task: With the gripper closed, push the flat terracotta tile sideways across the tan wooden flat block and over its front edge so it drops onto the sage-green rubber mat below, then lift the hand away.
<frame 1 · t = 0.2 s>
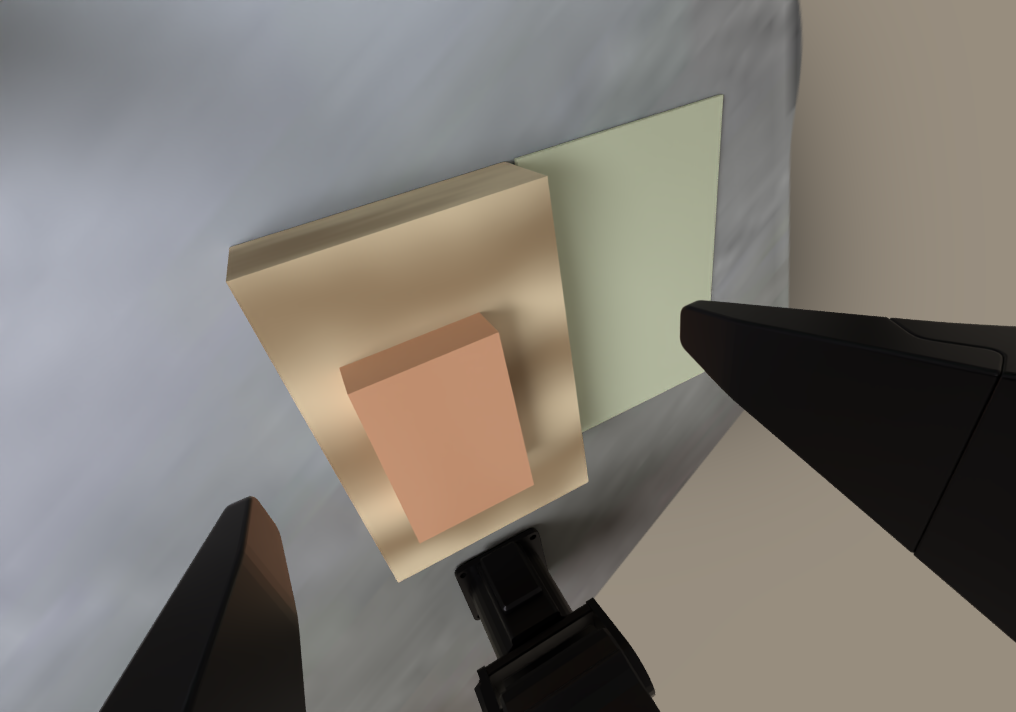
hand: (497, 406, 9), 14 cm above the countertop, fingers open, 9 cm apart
mat: (630, 288, 29), on the countertop
tan wooden flat block: (434, 370, 25), on the countertop
tile: (441, 420, 22), point 4 cm above the countertop, touching tan wooden flat block
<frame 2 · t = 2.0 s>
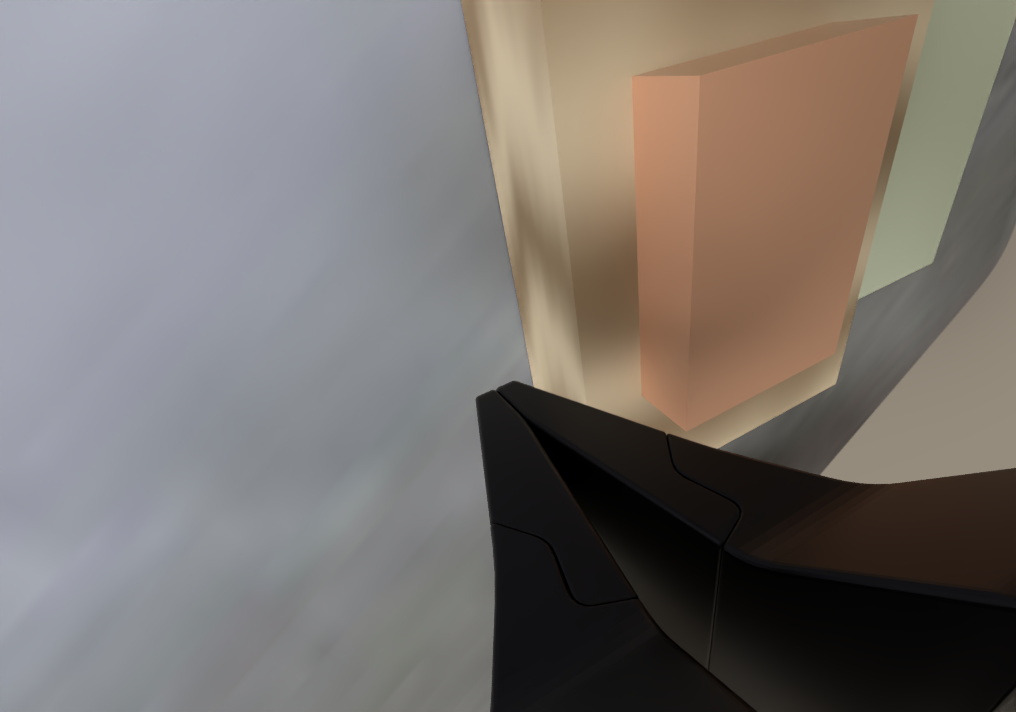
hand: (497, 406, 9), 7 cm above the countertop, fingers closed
mat: (897, 110, 20), on the countertop
tan wooden flat block: (658, 195, 17), on the countertop
tile: (724, 232, 14), point 4 cm above the countertop, touching tan wooden flat block
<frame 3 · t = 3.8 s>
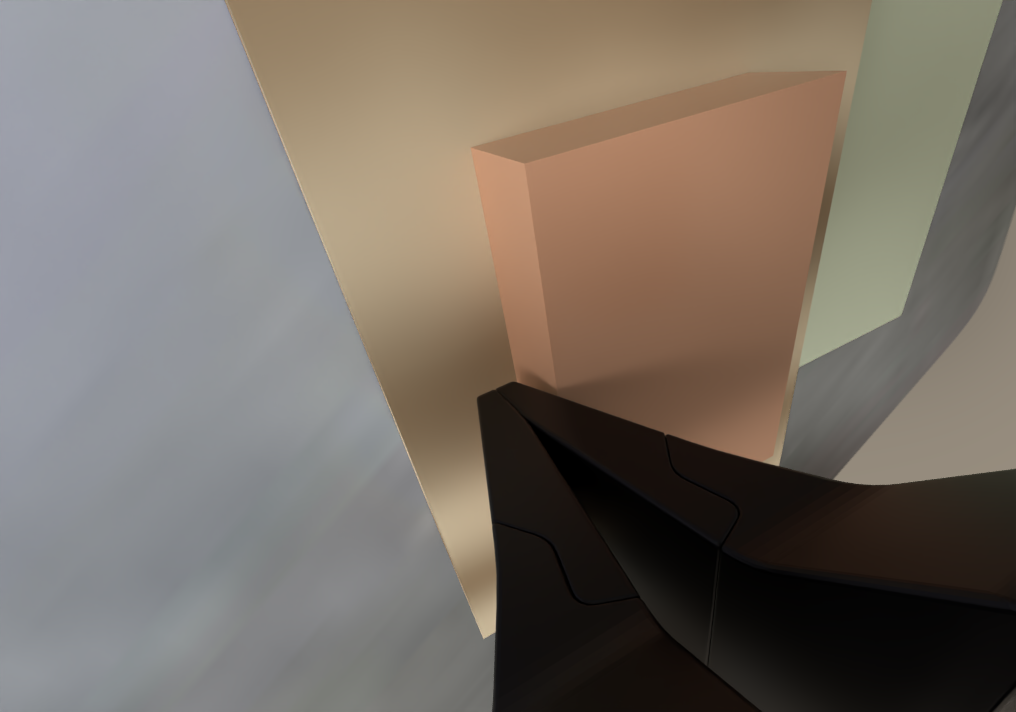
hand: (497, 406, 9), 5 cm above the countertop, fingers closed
mat: (850, 157, 18), on the countertop
tan wooden flat block: (555, 264, 14), on the countertop
tile: (629, 320, 11), point 4 cm above the countertop, touching gripper
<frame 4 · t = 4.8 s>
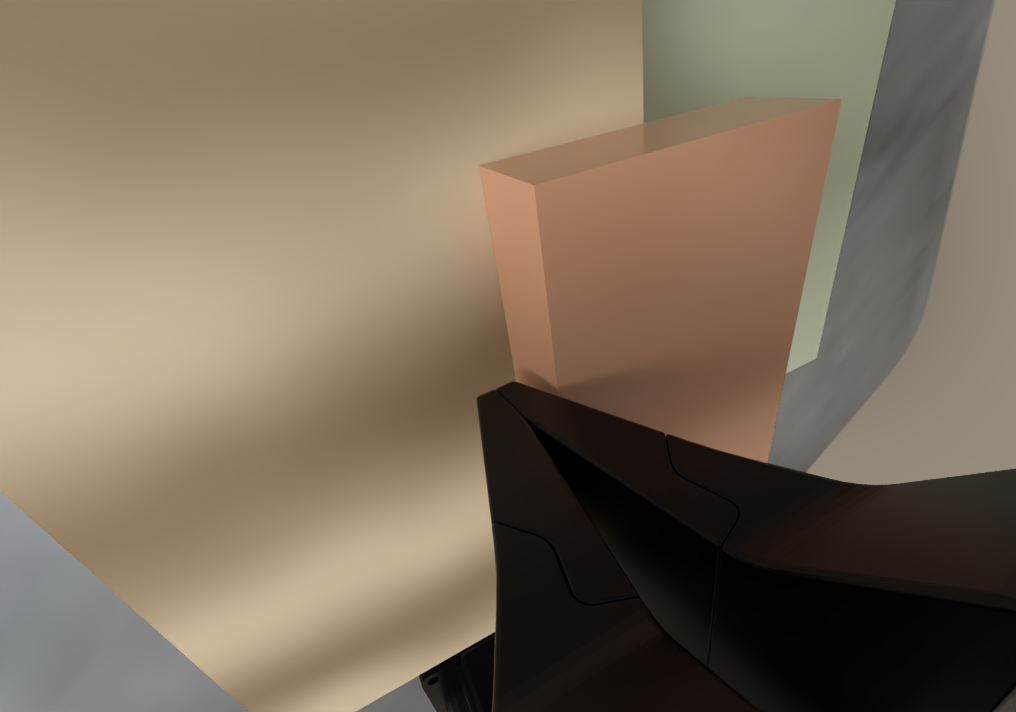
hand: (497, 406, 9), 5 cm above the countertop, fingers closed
mat: (727, 201, 16), on the countertop
tan wooden flat block: (367, 332, 13), on the countertop
tile: (628, 333, 11), point 4 cm above the countertop, touching tan wooden flat block, gripper
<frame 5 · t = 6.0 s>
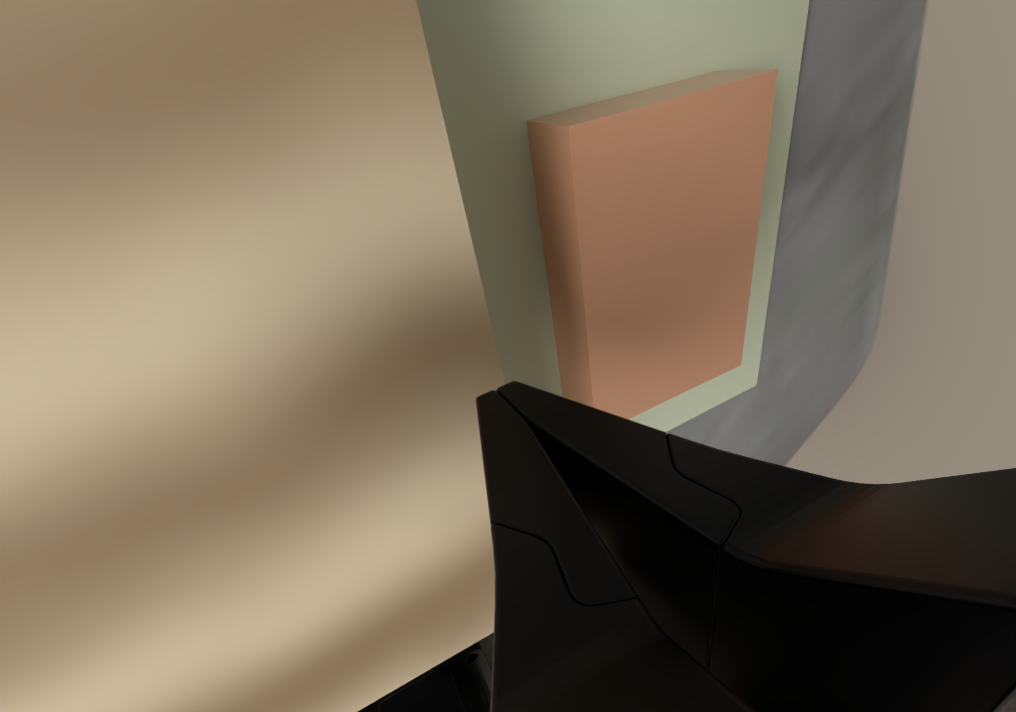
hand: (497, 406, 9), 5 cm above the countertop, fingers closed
mat: (634, 231, 15), on the countertop
tan wooden flat block: (217, 386, 12), on the countertop
tile: (675, 274, 14), point 2 cm above the countertop, tilted 180°, touching mat
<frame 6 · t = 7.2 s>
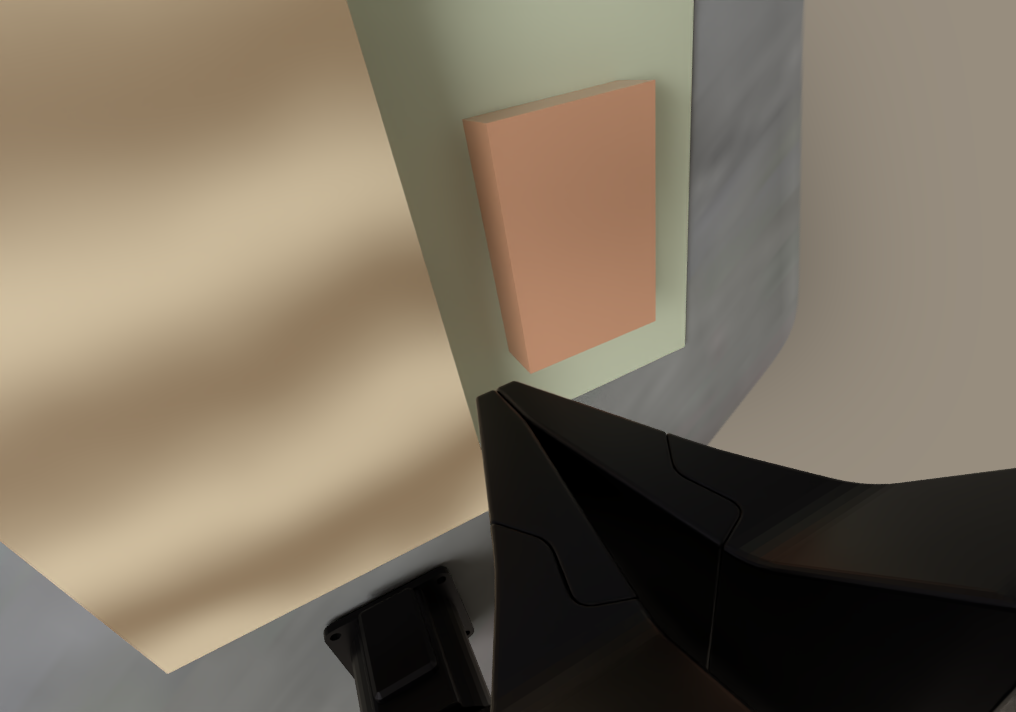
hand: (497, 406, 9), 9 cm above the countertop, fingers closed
mat: (561, 209, 19), on the countertop
tan wooden flat block: (225, 324, 16), on the countertop
tile: (587, 241, 17), point 2 cm above the countertop, tilted 180°, touching mat
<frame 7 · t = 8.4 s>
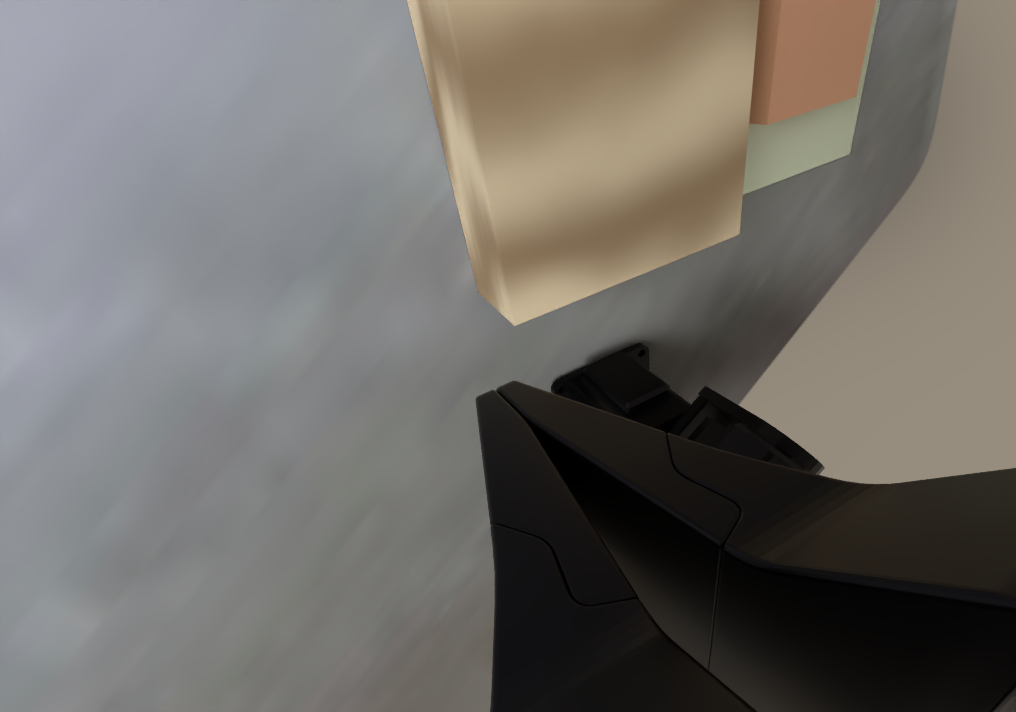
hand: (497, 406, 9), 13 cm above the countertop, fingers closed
tan wooden flat block: (564, 44, 20), on the countertop
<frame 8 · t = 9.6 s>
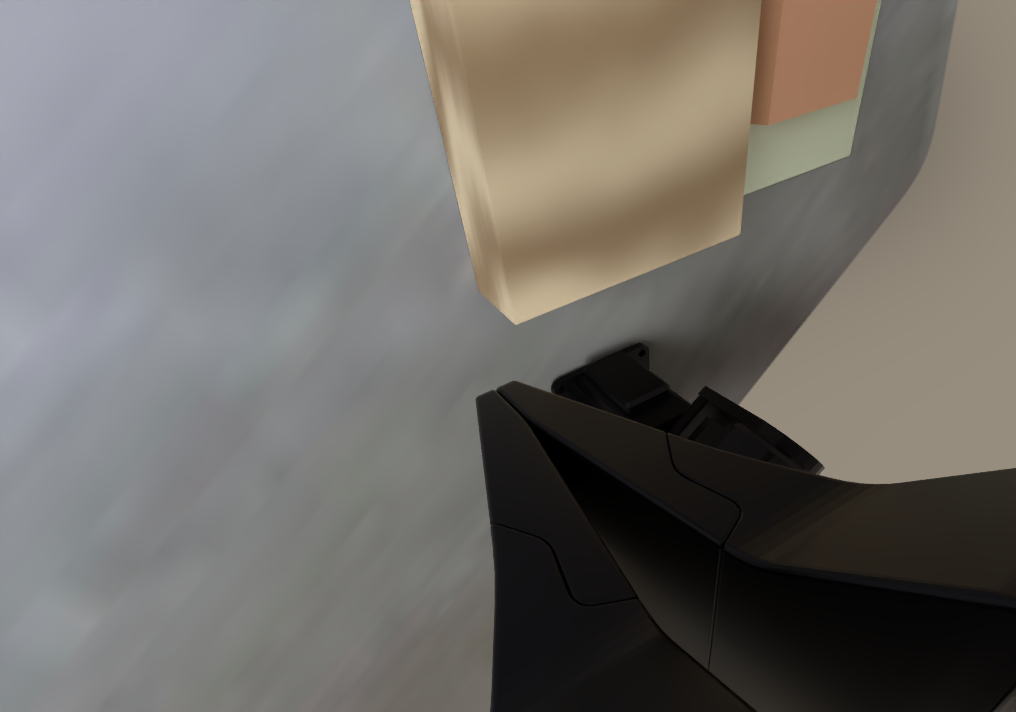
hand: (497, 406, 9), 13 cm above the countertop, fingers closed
tan wooden flat block: (566, 43, 20), on the countertop
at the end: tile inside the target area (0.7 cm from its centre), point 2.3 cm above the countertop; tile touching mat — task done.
